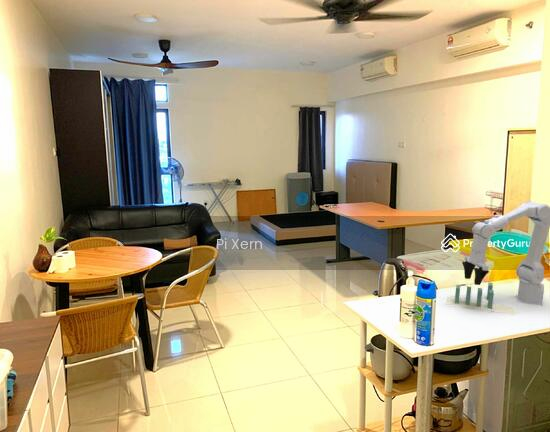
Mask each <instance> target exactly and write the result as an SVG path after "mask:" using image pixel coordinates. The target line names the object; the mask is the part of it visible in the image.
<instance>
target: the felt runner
mask: <svg viewBox="0 0 550 432" xmlns="http://www.w3.org/2000/svg"><path fill="white" fill-rule="evenodd" d="M465 304H466V298H460V297H459V304H458V303H455V297H453V296H447V297H446V303H445V305H451V306H458V307H462V308H469V309H470V308H471V309H475V310H476V309H477V310H482V311H488V312H495V313H501V314H505V315H506V314H507V315H513V316H515V315H516V314H515V310H514V306H511V305H504V304H497V303H493V305H492V309H489V308H488V302H485V301H481V307H477V300H471V299H470V305H465Z"/></svg>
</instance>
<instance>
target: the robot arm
mask: <svg viewBox="0 0 550 432" xmlns="http://www.w3.org/2000/svg"><path fill="white" fill-rule="evenodd" d="M523 217H527V218H529V219H530V220H531V222H532V223H534V226H533V230H532V235H531V237H530V241H529V246H528V250H527V253H526V257H525V258H524V259H523V260H521V261H520V262H519V265H518V267H517V268H516V272H515V273H516V276H517V277H518V280H519V281H518V283H519V284H518V289H517V291H518V292H517V295H515V298H516V301H517V302H518V303H522V304H523V303H524V304H531V305H536V306H537V305H538V306H542V307H543V299H544V295H545V294H544V293H545V285H544V283H543V281H544V279H545V274H544V273H545V266H543V264H542V263H541V262H542V257H543V254H544V249H545V246H546V242H547V239H548V236H549V235H548V234H549V232H550V206H549V204H545V203H544V204H543V203H539V202H536V201H535V202H534V201H531V200H527V201H526V202H523V203H521V204H520V206H518V207H516V208H515V209H513V210H511V211H510V212H508V213H505V214H503V215H502V214H495V215H494V216H493V217H491V218H489V219H485V220H484V221H483V222H482V221H481V222H477V223H475V224H474V226H473V227H472V228H471V231H472V234H473V236H472V237H473V240H472V245H471V249H470V253H469V256H467V255H465V256H464V261H462V263H461V264H462V266H463V270H464V279H466V280H470V279H471V277H472V276H473V275H472V274H473V272H474V285H475V286H480V285H481V284H482V282H483V280H484V278H485V277H486V275H487V274H489V272H490V271H489V267H490V266H489V265H487V264H486V263H485V259H486V256H487V255H486V254H487V250H488V249H487V248H488V245H489V240H490V238H492V237H493V235H494V234H495V233H496V232H498V231H500V230H502V229H504V228H507V226H508V223H512V222H513V221H515V220H518V219H521V218H523Z"/></svg>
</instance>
